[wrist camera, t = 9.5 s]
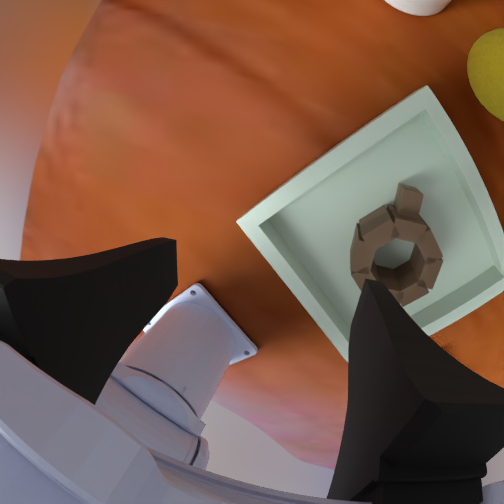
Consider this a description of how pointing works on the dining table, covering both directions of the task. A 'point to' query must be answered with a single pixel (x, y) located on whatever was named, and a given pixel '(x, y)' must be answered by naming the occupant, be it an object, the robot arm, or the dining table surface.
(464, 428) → the robot arm
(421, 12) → the drinking glass
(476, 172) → the tray
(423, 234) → the ring
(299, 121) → the dining table surface
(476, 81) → the lemon
